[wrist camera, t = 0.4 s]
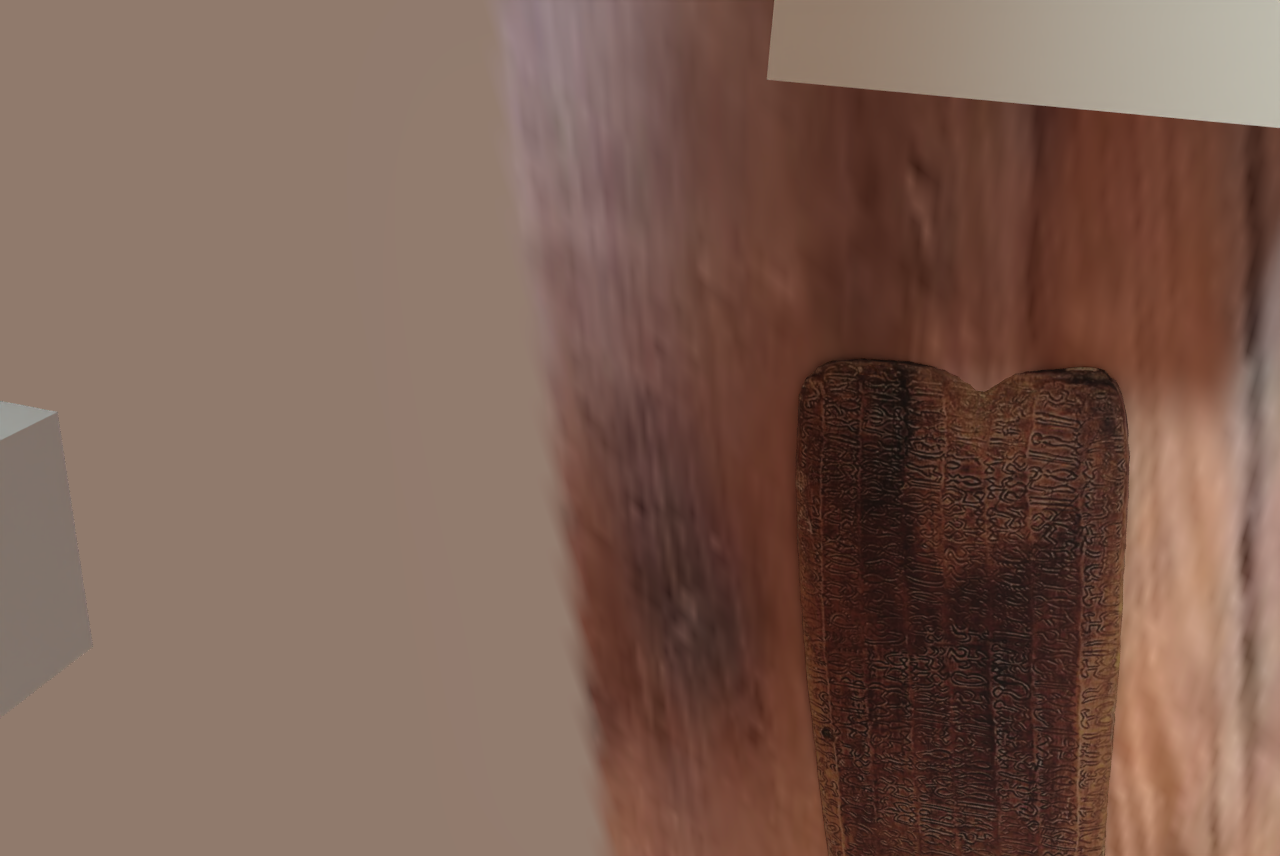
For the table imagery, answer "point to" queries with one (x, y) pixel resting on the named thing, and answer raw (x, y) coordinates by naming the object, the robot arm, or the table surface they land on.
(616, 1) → the table surface
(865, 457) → the wooden tablet
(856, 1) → the board
